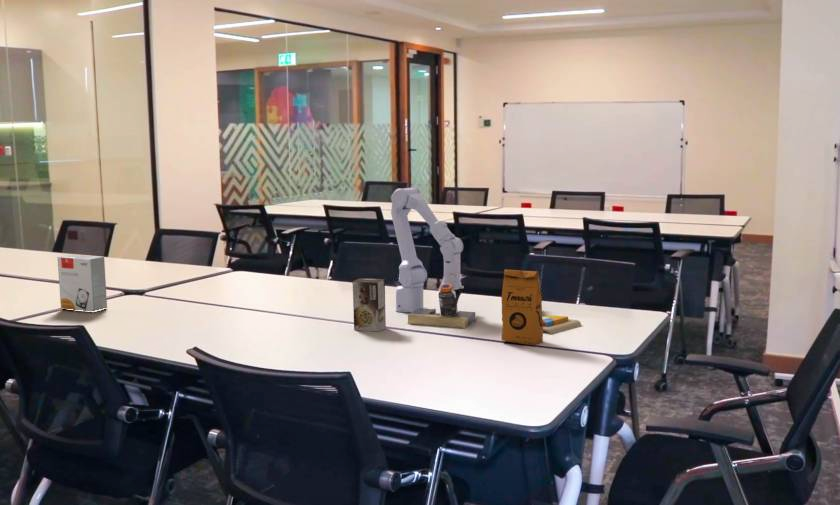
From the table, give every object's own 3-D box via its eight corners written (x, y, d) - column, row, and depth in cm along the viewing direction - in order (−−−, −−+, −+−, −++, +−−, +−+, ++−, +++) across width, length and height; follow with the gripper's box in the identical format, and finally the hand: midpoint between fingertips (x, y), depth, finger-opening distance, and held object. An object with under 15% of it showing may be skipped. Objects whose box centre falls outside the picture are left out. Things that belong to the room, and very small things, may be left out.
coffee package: (536, 348, 235) (537, 274, 232) (496, 343, 241) (497, 271, 238) (547, 340, 244) (548, 269, 241) (509, 336, 250) (509, 266, 247)
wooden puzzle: (536, 318, 277) (536, 308, 276) (582, 327, 263) (582, 316, 263) (503, 327, 265) (503, 316, 264) (550, 336, 251) (550, 325, 251)
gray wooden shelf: (407, 323, 268) (407, 314, 268) (420, 316, 279) (420, 308, 278) (464, 328, 261) (465, 319, 261) (475, 320, 272) (475, 312, 271)
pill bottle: (461, 312, 277) (458, 283, 273) (453, 320, 273) (450, 290, 268) (445, 310, 280) (442, 281, 276) (437, 318, 276) (434, 288, 271)
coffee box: (386, 327, 263) (385, 278, 261) (379, 331, 257) (378, 282, 255) (360, 325, 266) (359, 277, 264) (352, 330, 260) (351, 280, 258)
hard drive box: (60, 310, 294) (56, 256, 292) (76, 306, 302) (72, 254, 299) (92, 313, 289) (89, 258, 286) (108, 309, 296) (105, 256, 293)
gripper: (456, 277, 270) (456, 316, 271) (469, 270, 283) (469, 308, 285) (436, 276, 272) (437, 315, 274) (450, 269, 286) (450, 307, 287)
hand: (452, 311), depth 280 cm, fingers closed
